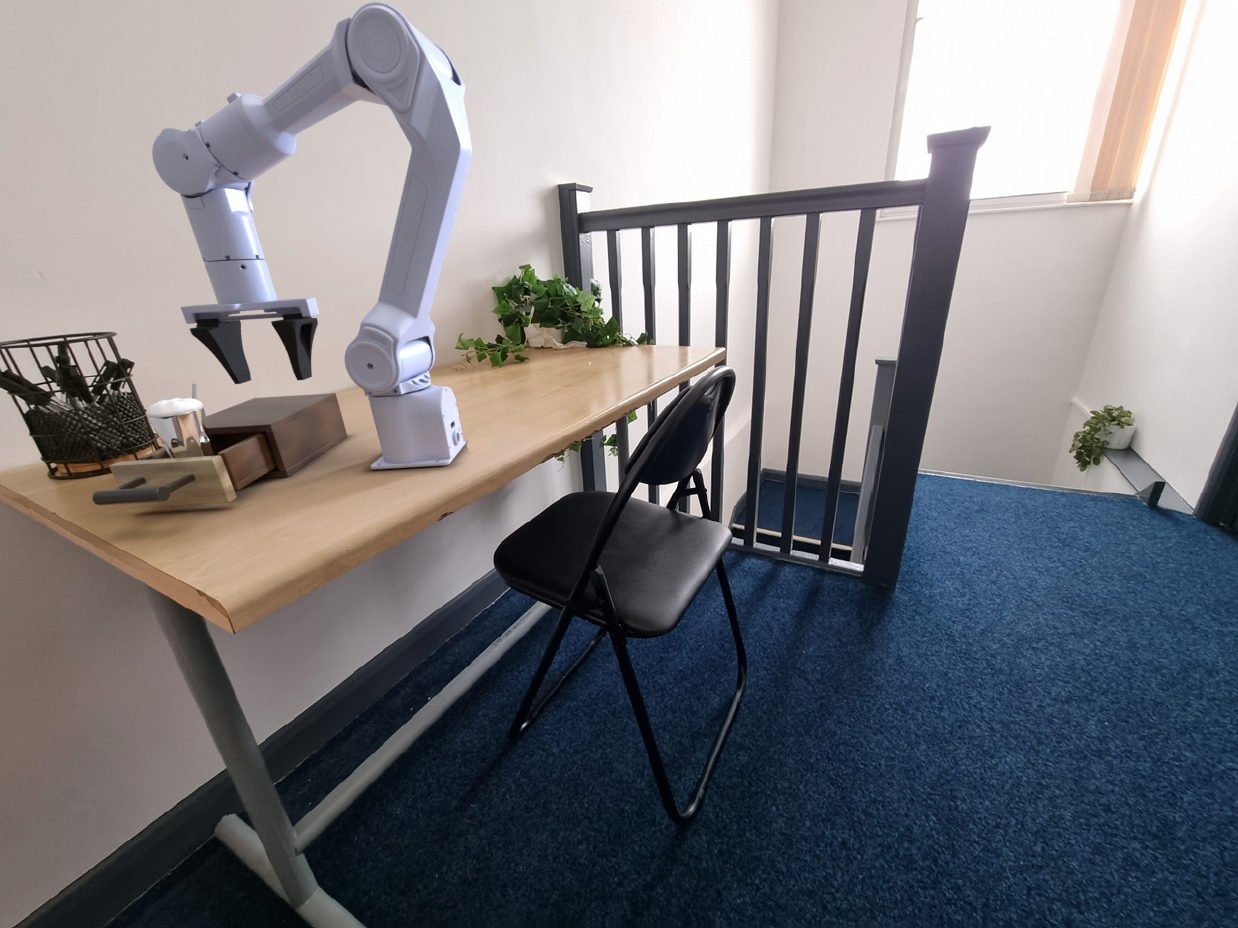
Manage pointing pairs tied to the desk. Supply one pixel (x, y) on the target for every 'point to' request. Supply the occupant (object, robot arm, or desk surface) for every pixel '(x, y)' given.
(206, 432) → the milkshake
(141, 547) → the desk surface
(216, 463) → the drawer
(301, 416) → the cabinet
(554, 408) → the desk surface
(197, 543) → the desk surface
